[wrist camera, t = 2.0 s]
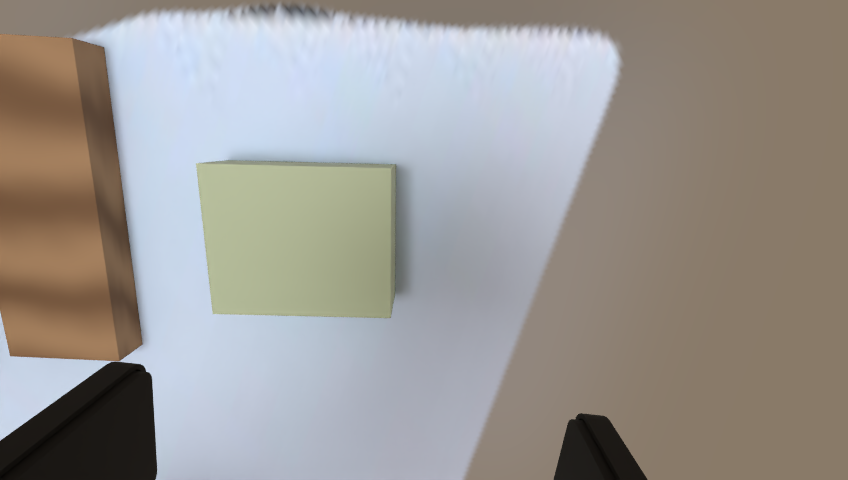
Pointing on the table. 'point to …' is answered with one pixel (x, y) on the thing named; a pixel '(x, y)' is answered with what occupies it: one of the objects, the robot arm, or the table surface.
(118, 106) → the table surface
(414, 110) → the table surface
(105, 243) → the board
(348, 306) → the slab
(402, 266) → the table surface
